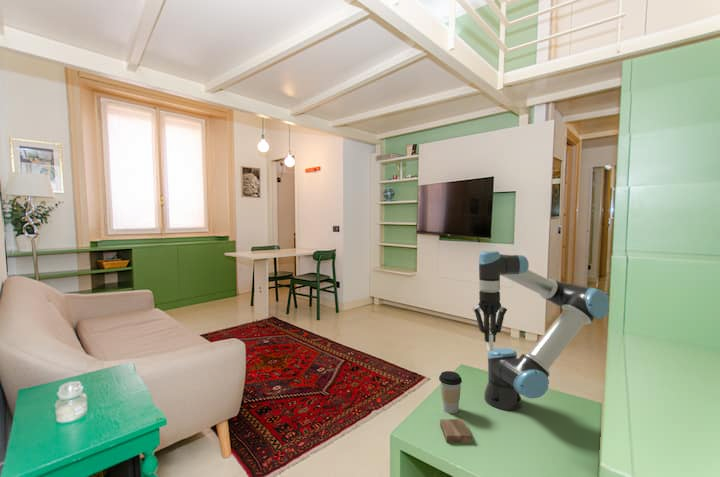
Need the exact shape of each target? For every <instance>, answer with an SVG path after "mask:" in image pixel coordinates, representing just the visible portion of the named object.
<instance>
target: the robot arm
mask: <svg viewBox="0 0 720 477" xmlns="http://www.w3.org/2000/svg"><path fill="white" fill-rule="evenodd" d="M478 272H479V274H478V275H479V277H478V279H479V280H478V282H479V283H478V284H479V286H478V287H479V294H478V296H479V297H478V298H479V303H478V304H477V306H476V307H473V308H472V311H473V312H474V314H475V318H476V321H477V322H476V323H477V325H478V328H479V331H480V333H482V334H483V335H484V342H486V350H488V354H487V365H488V366H487V369H488V370H487V373H488V374H487V376H488V381H487V384H486V387H485V389H484V400H485V402H486V403H487V404H488V405H491V406H492V407H494V408H496V409H500V410H504V411H514V410H518V409H520V408H521V407H522V397H521V395H522V396H524V397H525V398H527V399H538V398H541V397H542V396H544V395H545V394H546V393H547V391H548V390H549V384H550V379H549V377H550V375H551V374H550V370H549V369H550V368H551V366H552V365H553V364H554V362H555V361H556V360H558V358H559V357H560V356H561V354H562V353H563V351H564V350H565V349H566V348H567V347H568V345H569V344H570V343H571V341H572V340H573V339H574V338H575V336H576V335H577V334H578V333H579V332H580V331H581V329H582V327H584V325H585V326H586V325H587V326H588V325H590V324H592V322H593V321H594V320H595V319H597V320H599V319H604V318H606V317H607V316H608V314H609V312H610V309H609V301H610V299H609V297H608V294H606V292H604V291H603V290H601V289H597V288H595V287H588V286H582V285H577V284H574V283H568V282H562V281H559V280H555V279H553V278H546V277H544V276H542V275H540V274H538V273H536V272H534V271H531V270H529V260H528V258H527V257H526V256H524V255H523V254H522V255H521V254H520V255H519V254H515V255H512V254H511V255H510V254H502V253H501V254H500V252H499V251H497V250H483V251H480V252H479V256H478ZM501 277H504V278H505V279H508V280H509V281H512V282H514V283H516V284H519V285H521V286H523V287H525V288H527V289H529V290H531V291H533V292H536V293H537V294H539V296H540V297H541V298H543V299H544V300H547V301H548V302H550V303H552V304H554V305H556V306H558V307H560V308H561V309H562V312H561V313H560V314H559V315H558V317H557V318H556V319H555V320H554V321H553V323H552V324H551V325H550V326H549V328H548V329H547V330H546V331H545V333H544V334H543V335H542V336H541V337H540V339H539V340H537V342H536V344H534V346H533V347H532V348H531V350H530V351H529V352H528V353H527V352H526V353H522V354H521V355H520V356H519V357H517V356H518V354H517V351H516V350H515V349H512V348H508V347H507V348H505V347H496V348H494V343H495V342H496V339H497V338H496V336H497V335H498V333H501V332H502V331H501V330H502V328H503V323H504V318H505V314H506V313H507V311H508V308H507V307H506V308H505V307H504V306H502V304H501V293H500V291H501V284H500V283H501ZM481 312H482V313H483V318H482V314H481ZM497 313H498V315H497Z"/></svg>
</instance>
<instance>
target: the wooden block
mask: <svg viewBox="0 0 720 477" xmlns="http://www.w3.org/2000/svg"><path fill="white" fill-rule="evenodd" d="M439 426H440V430H441V432H442V434H443V436H444V439H445V442H446V443H447V444H449V443H450V444H451V443H452V444H457V443H458V444H459V443H463V444H464V443H465V444H468V443H472V442H473V441H472V440H473V438H472V434H471V432H470V430H469V428H468V426H467V424H466V421H465V420H464V419H462V418H461V419H460V418H459V419H458V418H457V419H455V418H452V419H449V418H448V419H447V418H446V419H445V418H442V419H440V420H439Z"/></svg>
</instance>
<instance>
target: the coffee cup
mask: <svg viewBox="0 0 720 477" xmlns="http://www.w3.org/2000/svg"><path fill="white" fill-rule="evenodd" d="M438 381H439V382H440V391H441V392H440V393H441V399H442V405H443V410H444V411H445V412H446V413H447V414H451V415H452V414H453V415H454V414H456V413H458V412H459V406H460V398H461V388H462V387H461V384H462V382H463V380H462V377H461V375H460V374H459V373H457V372H455V371H452V370H451V371H450V370H446V371H442V372H441V373H440V375H439V377H438Z"/></svg>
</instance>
